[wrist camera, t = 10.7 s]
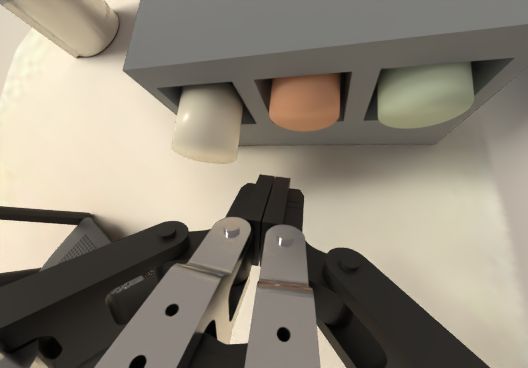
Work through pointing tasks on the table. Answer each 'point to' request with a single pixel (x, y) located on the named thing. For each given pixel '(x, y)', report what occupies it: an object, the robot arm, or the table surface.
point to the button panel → (324, 55)
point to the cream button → (208, 123)
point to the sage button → (424, 94)
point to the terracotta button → (305, 101)
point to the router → (74, 245)
